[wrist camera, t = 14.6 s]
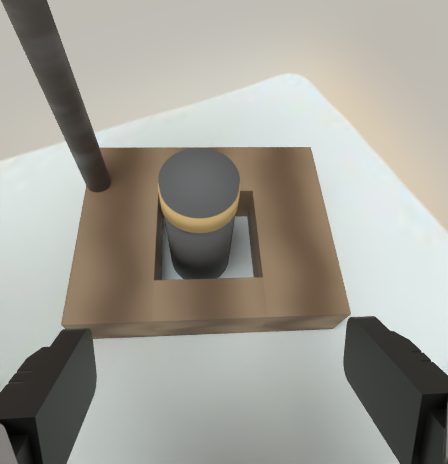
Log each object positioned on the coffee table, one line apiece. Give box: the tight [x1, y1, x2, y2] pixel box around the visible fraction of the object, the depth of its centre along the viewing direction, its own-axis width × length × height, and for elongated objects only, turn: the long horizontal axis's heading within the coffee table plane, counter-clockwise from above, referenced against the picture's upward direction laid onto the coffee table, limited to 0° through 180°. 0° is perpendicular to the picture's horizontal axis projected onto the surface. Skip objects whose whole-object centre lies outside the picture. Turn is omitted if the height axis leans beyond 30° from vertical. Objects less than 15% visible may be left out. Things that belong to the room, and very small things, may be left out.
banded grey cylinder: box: [158, 148, 240, 280], centre depth 26 cm, size 5×5×11 cm
